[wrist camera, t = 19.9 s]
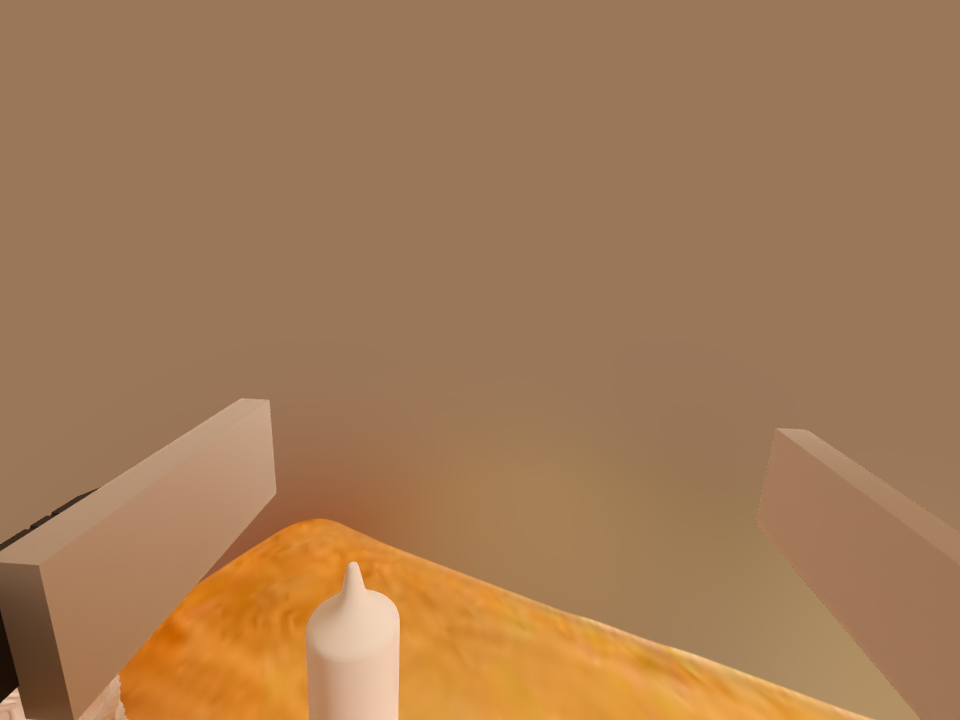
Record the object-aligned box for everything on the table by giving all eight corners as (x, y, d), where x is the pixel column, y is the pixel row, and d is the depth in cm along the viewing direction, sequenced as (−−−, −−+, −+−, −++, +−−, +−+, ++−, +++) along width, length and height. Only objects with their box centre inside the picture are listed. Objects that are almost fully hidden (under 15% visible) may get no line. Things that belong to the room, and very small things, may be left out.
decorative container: (176, 726, 41) (152, 541, 37) (63, 910, 30) (8, 676, 26) (38, 719, 41) (-3, 532, 37) (-127, 901, 30) (-216, 665, 26)
